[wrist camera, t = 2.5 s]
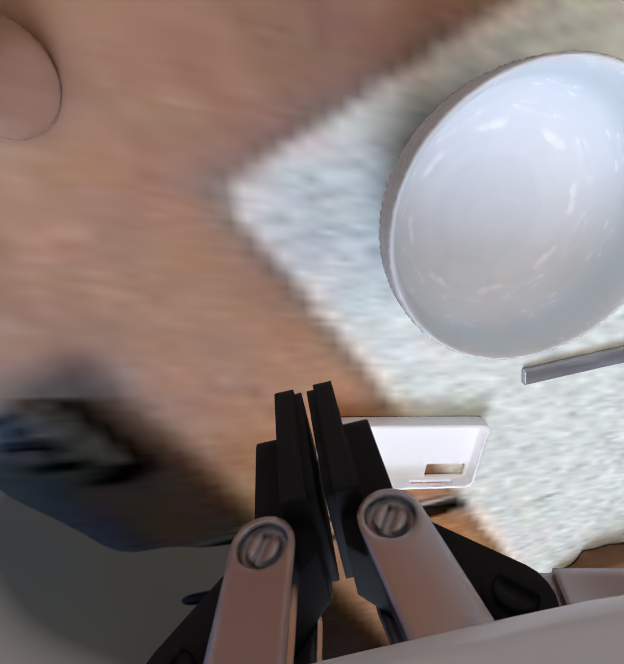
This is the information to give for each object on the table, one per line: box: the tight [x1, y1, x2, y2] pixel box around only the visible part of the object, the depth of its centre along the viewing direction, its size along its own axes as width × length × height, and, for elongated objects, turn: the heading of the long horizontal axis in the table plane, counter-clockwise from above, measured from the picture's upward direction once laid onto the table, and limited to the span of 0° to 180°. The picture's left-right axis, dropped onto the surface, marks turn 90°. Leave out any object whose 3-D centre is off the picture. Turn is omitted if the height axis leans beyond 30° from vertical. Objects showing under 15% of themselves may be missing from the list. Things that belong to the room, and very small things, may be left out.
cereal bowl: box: [379, 51, 624, 360], centre depth 26 cm, size 17×17×7 cm
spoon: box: [522, 346, 624, 385], centre depth 35 cm, size 5×17×1 cm, turn 101°
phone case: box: [316, 416, 490, 489], centre depth 37 cm, size 7×1×15 cm
